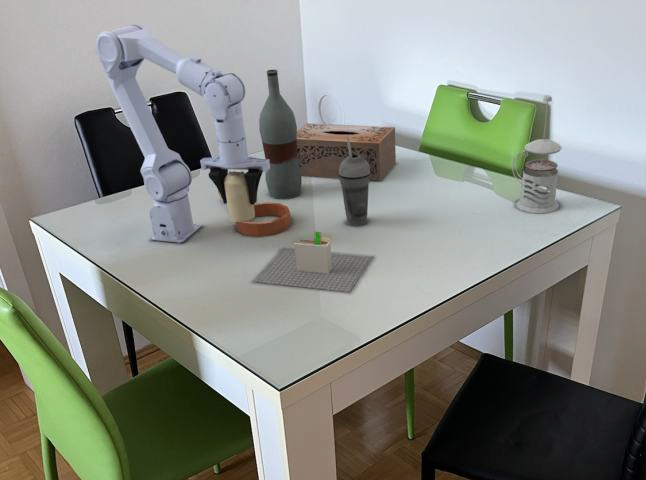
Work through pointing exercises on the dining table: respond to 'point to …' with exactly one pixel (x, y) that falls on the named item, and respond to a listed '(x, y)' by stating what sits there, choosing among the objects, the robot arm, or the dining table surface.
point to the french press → (539, 197)
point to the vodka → (279, 143)
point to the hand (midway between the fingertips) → (240, 202)
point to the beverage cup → (355, 187)
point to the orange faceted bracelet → (269, 226)
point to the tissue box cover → (344, 148)
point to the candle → (238, 197)
